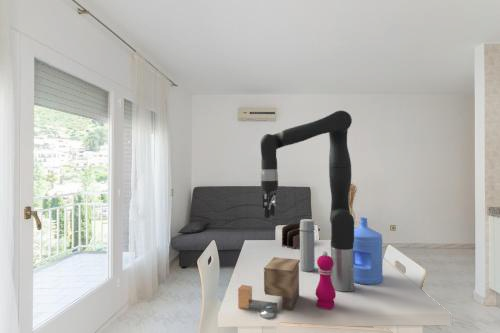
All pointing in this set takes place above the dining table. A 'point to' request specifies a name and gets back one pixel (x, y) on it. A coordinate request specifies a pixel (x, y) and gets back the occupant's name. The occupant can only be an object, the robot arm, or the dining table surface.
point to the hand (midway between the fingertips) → (270, 216)
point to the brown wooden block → (282, 280)
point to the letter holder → (291, 236)
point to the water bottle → (307, 245)
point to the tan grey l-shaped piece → (248, 303)
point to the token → (267, 313)
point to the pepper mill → (325, 282)
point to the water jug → (367, 255)
